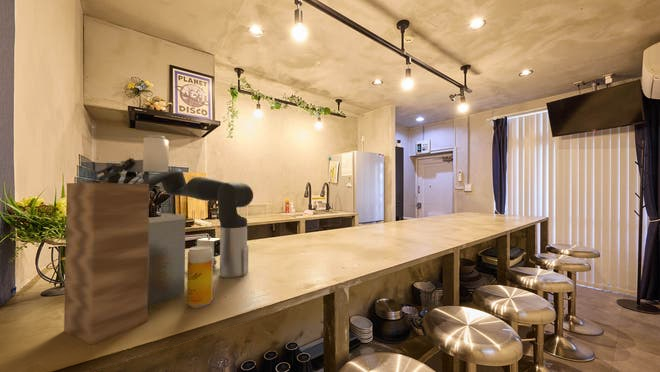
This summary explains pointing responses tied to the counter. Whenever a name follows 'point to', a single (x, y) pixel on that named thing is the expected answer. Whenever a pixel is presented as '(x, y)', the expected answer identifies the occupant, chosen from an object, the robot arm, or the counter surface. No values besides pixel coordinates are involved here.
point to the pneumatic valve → (210, 242)
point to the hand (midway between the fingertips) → (139, 161)
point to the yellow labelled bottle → (200, 276)
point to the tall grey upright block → (166, 258)
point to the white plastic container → (153, 155)
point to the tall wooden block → (106, 259)
